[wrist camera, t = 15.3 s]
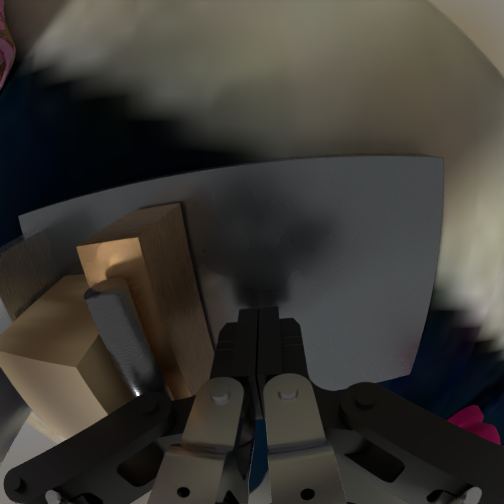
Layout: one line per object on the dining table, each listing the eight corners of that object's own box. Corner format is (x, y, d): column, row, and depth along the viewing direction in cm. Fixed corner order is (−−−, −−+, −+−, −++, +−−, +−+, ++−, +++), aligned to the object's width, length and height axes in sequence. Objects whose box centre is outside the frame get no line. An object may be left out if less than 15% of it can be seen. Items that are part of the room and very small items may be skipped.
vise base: (102, 375, 16) (71, 434, 11) (35, 208, 12) (-38, 244, 6) (401, 358, 15) (434, 425, 9) (425, 154, 10) (512, 173, 5)
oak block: (99, 354, 13) (53, 433, 8) (64, 275, 11) (-12, 347, 6) (178, 358, 13) (146, 460, 7) (149, 268, 11) (75, 367, 5)
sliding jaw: (190, 393, 13) (171, 470, 9) (131, 211, 10) (50, 264, 5) (225, 393, 13) (215, 474, 9) (179, 203, 10) (114, 257, 5)
